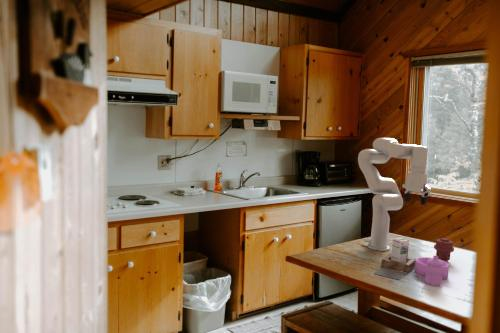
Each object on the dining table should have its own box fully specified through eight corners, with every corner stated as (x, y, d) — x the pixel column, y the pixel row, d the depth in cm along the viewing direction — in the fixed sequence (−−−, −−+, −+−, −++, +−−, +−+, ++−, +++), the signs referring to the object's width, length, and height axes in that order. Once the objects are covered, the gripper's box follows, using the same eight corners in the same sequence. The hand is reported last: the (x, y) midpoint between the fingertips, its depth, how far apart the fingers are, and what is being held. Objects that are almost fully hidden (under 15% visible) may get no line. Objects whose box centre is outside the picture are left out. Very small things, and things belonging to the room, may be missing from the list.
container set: (414, 267, 247) (416, 242, 246) (446, 272, 243) (449, 246, 241) (415, 283, 224) (418, 256, 222) (451, 289, 219) (454, 261, 218)
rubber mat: (373, 274, 233) (373, 273, 233) (381, 267, 243) (381, 267, 243) (399, 280, 227) (399, 279, 227) (405, 273, 237) (406, 272, 237)
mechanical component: (450, 259, 265) (454, 265, 255) (431, 257, 267) (434, 263, 257) (452, 237, 264) (456, 242, 254) (433, 235, 265) (436, 240, 256)
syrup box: (398, 269, 243) (401, 241, 241) (389, 265, 248) (392, 237, 246) (406, 268, 246) (409, 240, 244) (398, 264, 251) (401, 237, 249)
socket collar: (381, 267, 245) (381, 259, 244) (389, 260, 256) (389, 253, 256) (408, 273, 238) (409, 265, 237) (415, 266, 249) (416, 259, 249)
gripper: (399, 168, 254) (396, 200, 256) (427, 172, 240) (424, 206, 241) (409, 168, 258) (406, 199, 260) (437, 171, 244) (434, 205, 245)
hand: (415, 202), depth 251 cm, fingers open, 9 cm apart
